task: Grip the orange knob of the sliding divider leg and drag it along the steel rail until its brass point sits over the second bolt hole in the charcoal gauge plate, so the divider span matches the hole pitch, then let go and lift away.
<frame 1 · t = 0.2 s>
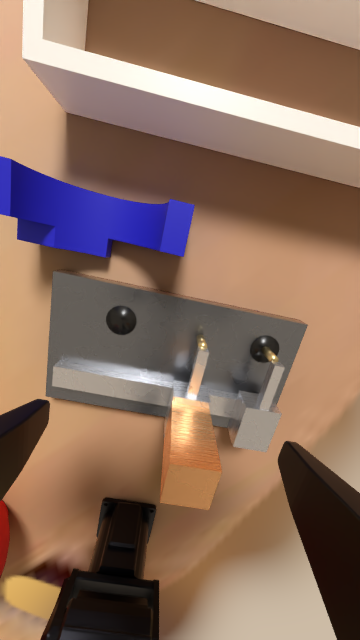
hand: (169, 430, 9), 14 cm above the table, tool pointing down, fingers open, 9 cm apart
cable clip: (115, 230, 20), on the table
block frame: (286, 94, 17), on the table
gauge plate: (171, 355, 23), on the table
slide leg: (193, 407, 17), point 6 cm above the table, slide at -7.0 cm
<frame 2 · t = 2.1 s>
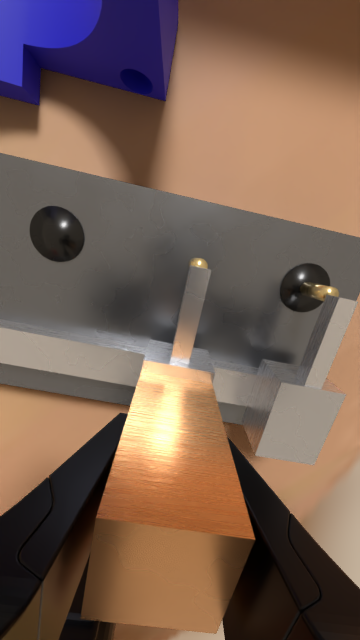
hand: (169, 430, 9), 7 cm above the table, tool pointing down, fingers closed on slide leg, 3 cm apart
cable clip: (46, 55, 11), on the table
gauge plate: (150, 306, 14), on the table
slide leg: (181, 377, 8), point 6 cm above the table, slide at -7.0 cm, touching gripper
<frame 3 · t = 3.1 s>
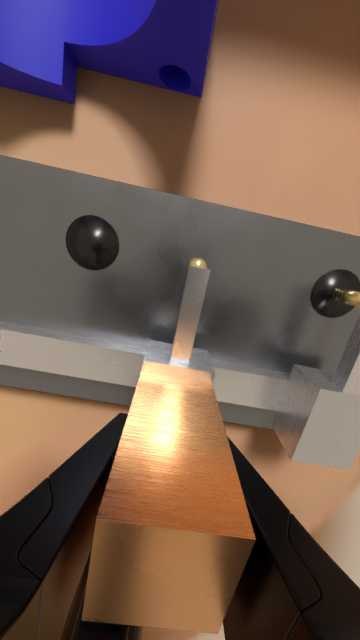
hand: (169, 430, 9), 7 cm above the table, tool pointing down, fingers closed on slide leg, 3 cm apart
cable clip: (81, 53, 11), on the table
gauge plate: (178, 312, 14), on the table
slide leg: (180, 377, 8), point 6 cm above the table, slide at -5.2 cm, touching gripper
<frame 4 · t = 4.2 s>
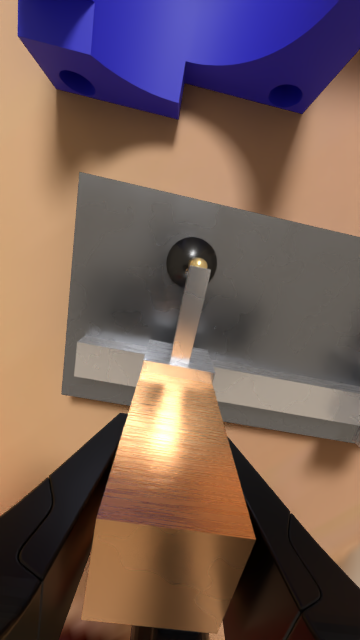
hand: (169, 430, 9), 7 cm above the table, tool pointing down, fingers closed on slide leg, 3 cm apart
cable clip: (187, 70, 11), on the table
gauge plate: (257, 327, 15), on the table
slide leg: (181, 377, 8), point 6 cm above the table, slide at -0.1 cm, touching gripper
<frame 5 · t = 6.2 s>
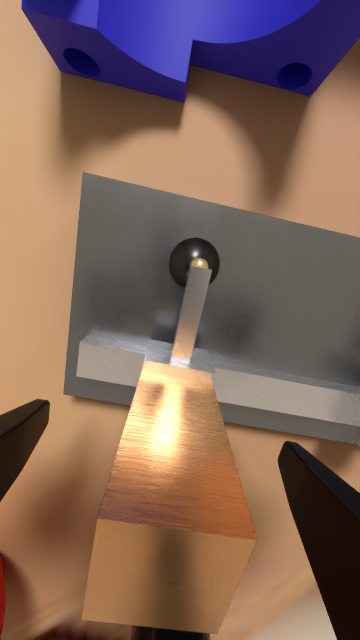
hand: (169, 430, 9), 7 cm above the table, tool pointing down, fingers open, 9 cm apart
cable clip: (193, 51, 11), on the table
gauge plate: (259, 328, 15), on the table
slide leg: (181, 377, 8), point 6 cm above the table, slide at 0.0 cm
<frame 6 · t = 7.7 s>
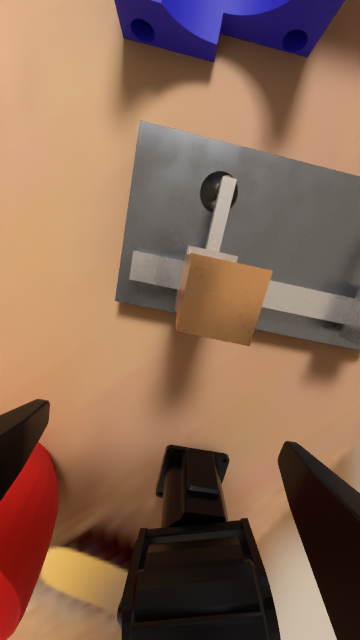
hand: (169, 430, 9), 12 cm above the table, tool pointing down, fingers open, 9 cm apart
cable clip: (221, 24, 15), on the table
ceramic cup: (17, 473, 25), on the table
gauge plate: (266, 252, 19), on the table
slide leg: (217, 247, 12), point 6 cm above the table, slide at 0.0 cm
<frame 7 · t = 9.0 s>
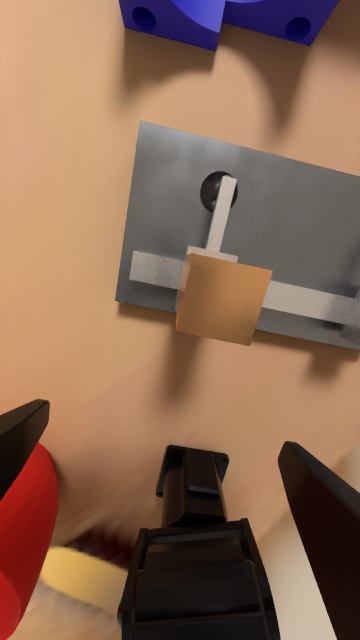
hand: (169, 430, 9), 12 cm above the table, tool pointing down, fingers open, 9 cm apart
cable clip: (222, 13, 15), on the table
ceramic cup: (17, 473, 25), on the table
gauge plate: (266, 252, 19), on the table
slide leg: (217, 247, 12), point 6 cm above the table, slide at 0.0 cm
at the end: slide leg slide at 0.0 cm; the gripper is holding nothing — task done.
